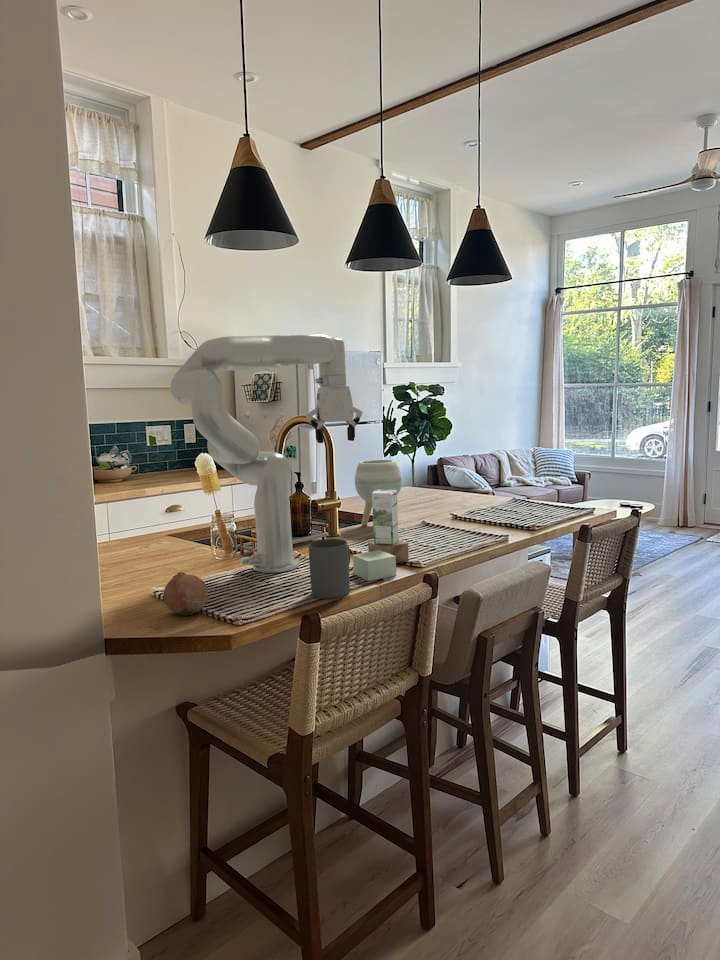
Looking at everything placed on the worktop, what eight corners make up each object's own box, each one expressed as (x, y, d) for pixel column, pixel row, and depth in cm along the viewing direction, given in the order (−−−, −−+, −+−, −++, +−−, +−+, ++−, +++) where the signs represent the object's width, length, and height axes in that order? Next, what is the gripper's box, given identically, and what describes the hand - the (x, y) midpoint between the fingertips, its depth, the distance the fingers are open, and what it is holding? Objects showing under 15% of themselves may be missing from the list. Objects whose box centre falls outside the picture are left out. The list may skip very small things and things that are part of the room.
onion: (178, 623, 147) (167, 580, 149) (217, 609, 147) (206, 567, 149) (163, 622, 138) (151, 576, 140) (205, 607, 138) (193, 562, 140)
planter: (398, 519, 237) (395, 457, 234) (407, 528, 222) (404, 462, 219) (354, 522, 235) (351, 460, 232) (360, 531, 219) (357, 465, 216)
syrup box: (399, 540, 182) (397, 488, 180) (393, 545, 176) (391, 492, 174) (380, 540, 183) (377, 488, 182) (373, 544, 178) (371, 492, 176)
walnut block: (383, 565, 175) (382, 547, 175) (368, 559, 182) (368, 542, 182) (408, 560, 179) (407, 543, 178) (393, 555, 186) (392, 537, 185)
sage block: (368, 580, 162) (367, 561, 161) (353, 573, 169) (352, 554, 168) (396, 575, 165) (395, 556, 165) (380, 568, 173) (379, 550, 172)
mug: (337, 601, 147) (334, 549, 146) (303, 596, 152) (300, 546, 150) (366, 584, 159) (364, 536, 157) (334, 580, 164) (332, 533, 162)
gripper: (309, 382, 181) (312, 444, 183) (365, 380, 188) (368, 440, 190) (300, 383, 187) (303, 443, 190) (354, 381, 195) (357, 439, 197)
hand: (335, 441), depth 190 cm, fingers open, 9 cm apart
